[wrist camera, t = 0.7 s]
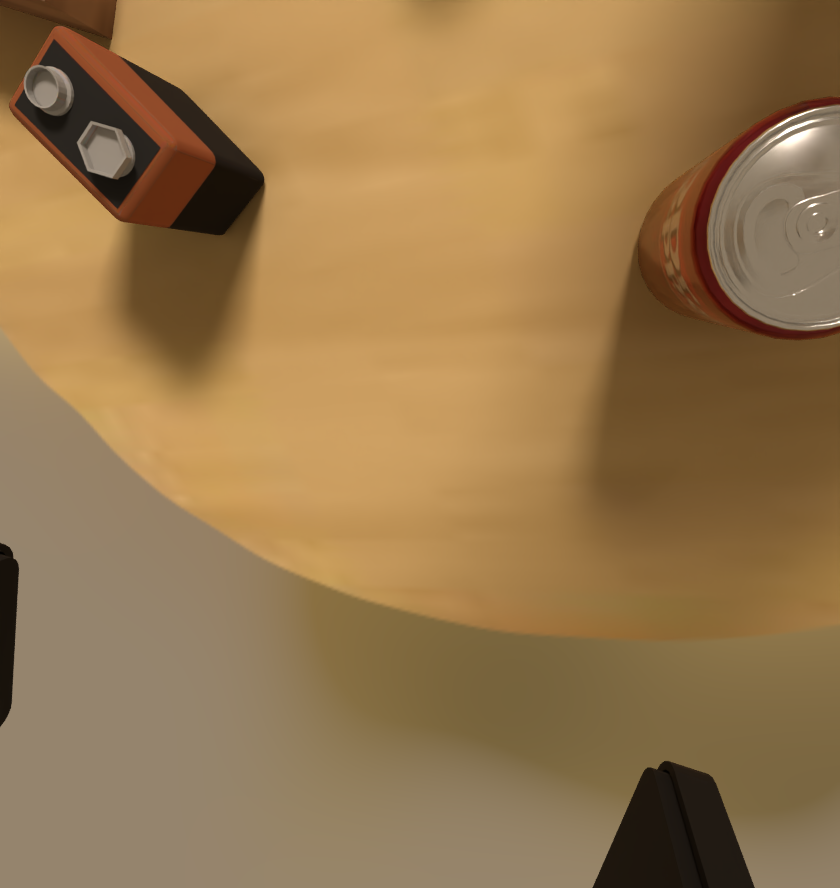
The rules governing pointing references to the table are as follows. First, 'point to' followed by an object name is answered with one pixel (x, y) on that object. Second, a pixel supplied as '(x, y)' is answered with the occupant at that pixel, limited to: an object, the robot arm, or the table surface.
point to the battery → (133, 138)
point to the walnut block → (71, 13)
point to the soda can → (755, 229)
